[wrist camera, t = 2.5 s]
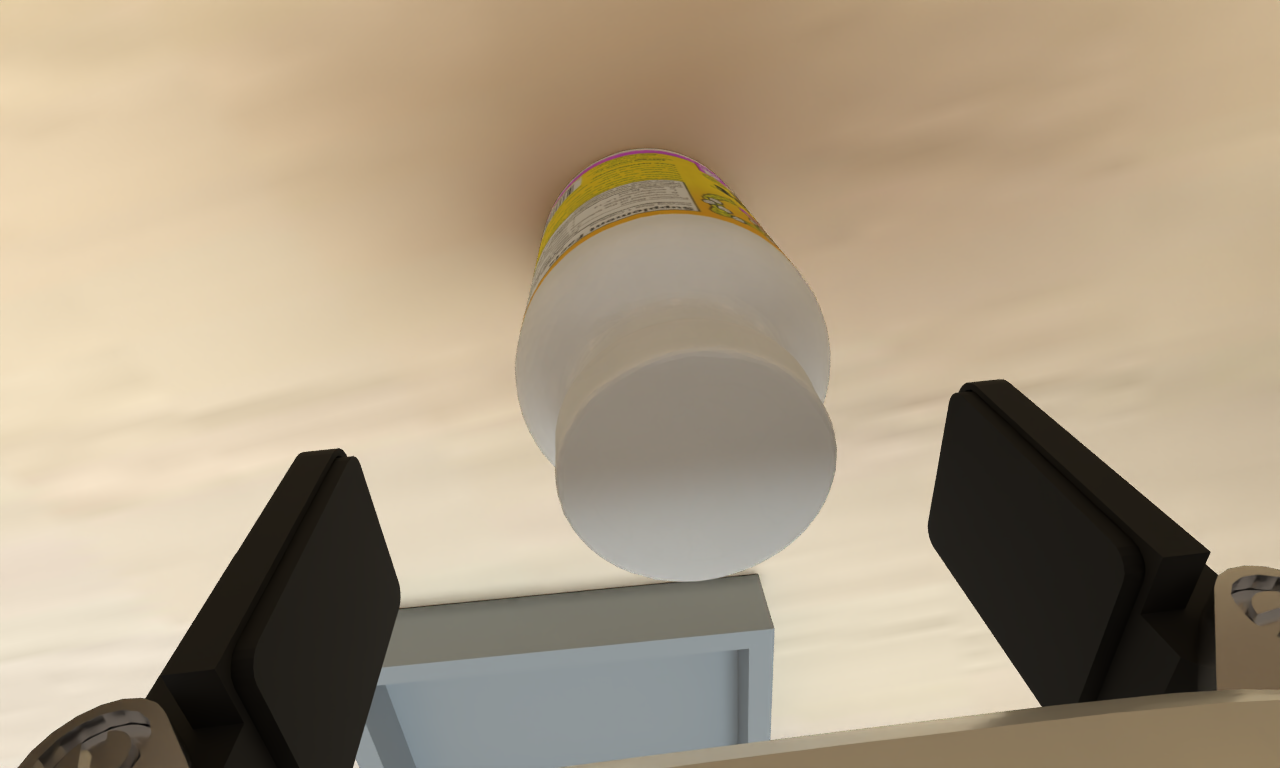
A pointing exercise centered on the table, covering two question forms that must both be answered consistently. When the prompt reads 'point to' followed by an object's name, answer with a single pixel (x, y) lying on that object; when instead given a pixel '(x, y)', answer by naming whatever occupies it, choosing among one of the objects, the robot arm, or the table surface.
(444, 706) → the tray
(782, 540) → the supplement bottle
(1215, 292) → the table surface
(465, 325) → the table surface
